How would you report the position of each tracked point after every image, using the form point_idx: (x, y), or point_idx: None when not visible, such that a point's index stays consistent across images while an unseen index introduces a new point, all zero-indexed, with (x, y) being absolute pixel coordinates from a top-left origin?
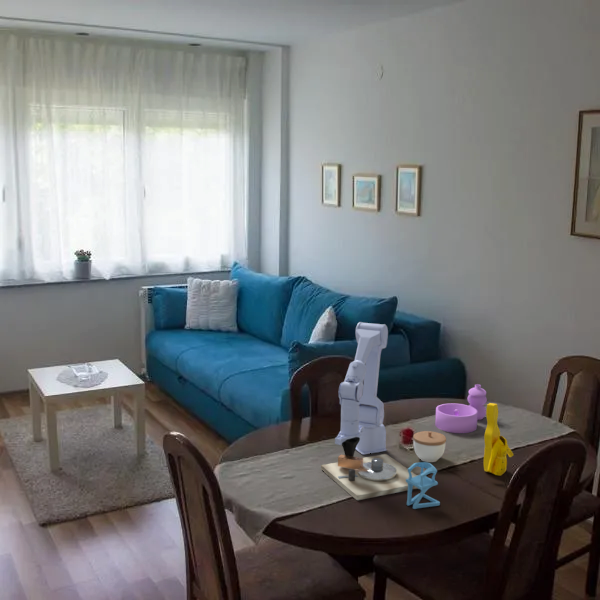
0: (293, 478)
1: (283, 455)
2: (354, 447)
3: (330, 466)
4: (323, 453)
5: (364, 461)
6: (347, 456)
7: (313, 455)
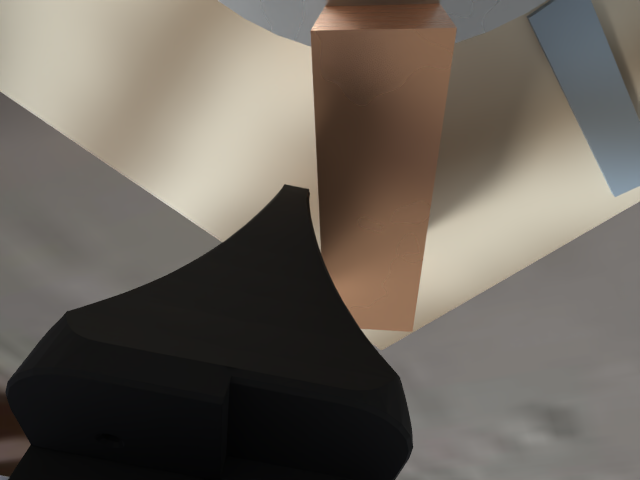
0: (569, 404)
1: None
2: (264, 280)
3: None
4: None
5: (98, 67)
6: (349, 257)
7: None
